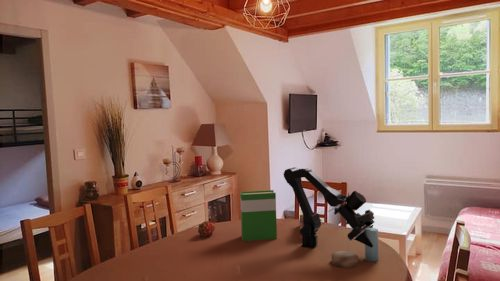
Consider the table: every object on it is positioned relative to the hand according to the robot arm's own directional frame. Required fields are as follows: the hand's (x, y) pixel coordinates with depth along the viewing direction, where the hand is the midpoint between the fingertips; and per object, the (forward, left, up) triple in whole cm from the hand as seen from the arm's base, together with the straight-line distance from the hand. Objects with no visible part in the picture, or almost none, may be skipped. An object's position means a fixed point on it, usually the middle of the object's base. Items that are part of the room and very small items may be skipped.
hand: (374, 244), depth 160 cm
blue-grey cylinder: (-1, 0, -7) cm, 7 cm away
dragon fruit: (-87, +1, -7) cm, 88 cm away
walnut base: (-11, -8, -7) cm, 15 cm away
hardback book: (-59, +8, -7) cm, 60 cm away
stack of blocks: (-39, +27, -7) cm, 48 cm away
